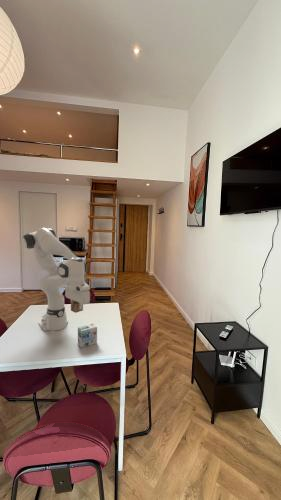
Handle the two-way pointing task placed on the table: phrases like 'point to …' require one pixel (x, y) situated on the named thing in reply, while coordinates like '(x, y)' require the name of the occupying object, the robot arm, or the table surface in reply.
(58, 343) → the table surface
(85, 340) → the light bulb box
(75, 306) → the walnut cube
